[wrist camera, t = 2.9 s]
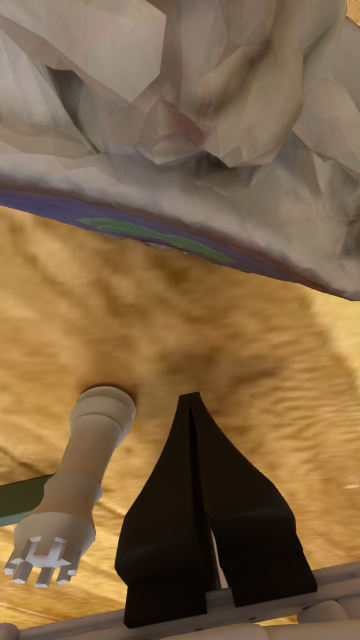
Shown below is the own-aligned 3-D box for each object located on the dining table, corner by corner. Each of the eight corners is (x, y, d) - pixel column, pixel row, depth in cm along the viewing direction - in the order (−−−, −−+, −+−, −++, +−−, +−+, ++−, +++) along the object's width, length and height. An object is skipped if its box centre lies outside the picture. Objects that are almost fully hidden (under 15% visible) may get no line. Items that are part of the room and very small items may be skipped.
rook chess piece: (126, 432, 15) (85, 602, 8) (72, 417, 15) (-32, 592, 7) (145, 392, 14) (118, 550, 7) (87, 374, 13) (-20, 531, 6)
